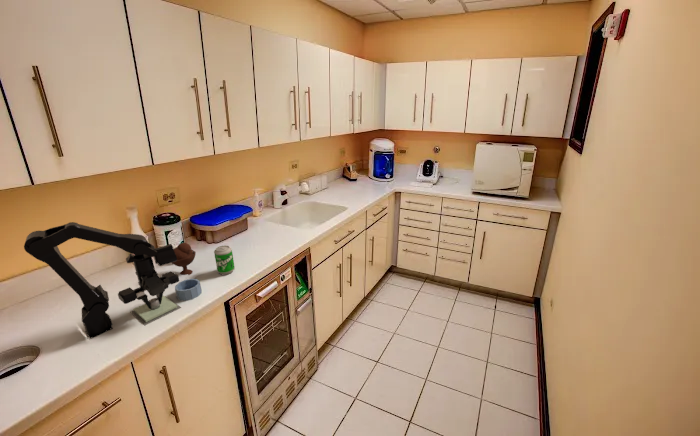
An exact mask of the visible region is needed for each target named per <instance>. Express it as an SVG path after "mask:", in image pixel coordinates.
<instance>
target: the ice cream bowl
mask: <svg viewBox="0 0 700 436" xmlns="http://www.w3.org/2000/svg"><path fill="white" fill-rule="evenodd" d="M177 246H178V247H176V248H173V249H174V252H175V254H176V257H177V261H175V262H172V263H171V264H172V265H174V266H175V267H181V268H182V270H181V271H180V272H179V275H181V276H186V275H188V276H190V275H192V274H193V270H192V269H190V268H188V266H189V265H190V264H192V263H193V262H194V260H195V258H196V251H195V250H193V249H192V247H191V245H190V244H189V243H187V242H181V243H179V244H178V245H177Z"/></svg>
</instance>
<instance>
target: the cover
mask: <svg viewBox="0 0 700 436" xmlns="http://www.w3.org/2000/svg"><path fill="white" fill-rule="evenodd" d="M165 296H166V295H163V296H162V301H161V304H160V303H159V299H158V298H157V297H153V298H151V299H148V301H149V303H150V306H151V309H149V308H148V306H147V305H146V304H145V303H143V304H142V305H141V304H140V305H138V306H137V307H135V308H133V309H132V311H133V310H134V311H135V312H136V313H137V314H138V315H139V316H140V317H141V318H142V319H143V320H144V321H145V322H148V321H150V320H152V319H154V318H156V317H158V316H160V315H162V314H164V313H166V312H169V311H171V310H173V309H175V308H177V305H178V304H177V303H176V302H175V303H176V304H177V305H176V304H175V303H173V302H174V301H173V300H172V299H171V300H172V301H173V302H172V301H171V300H169V299H170V298H169V297H168V298H169V299H168V298H166V297H165Z"/></svg>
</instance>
